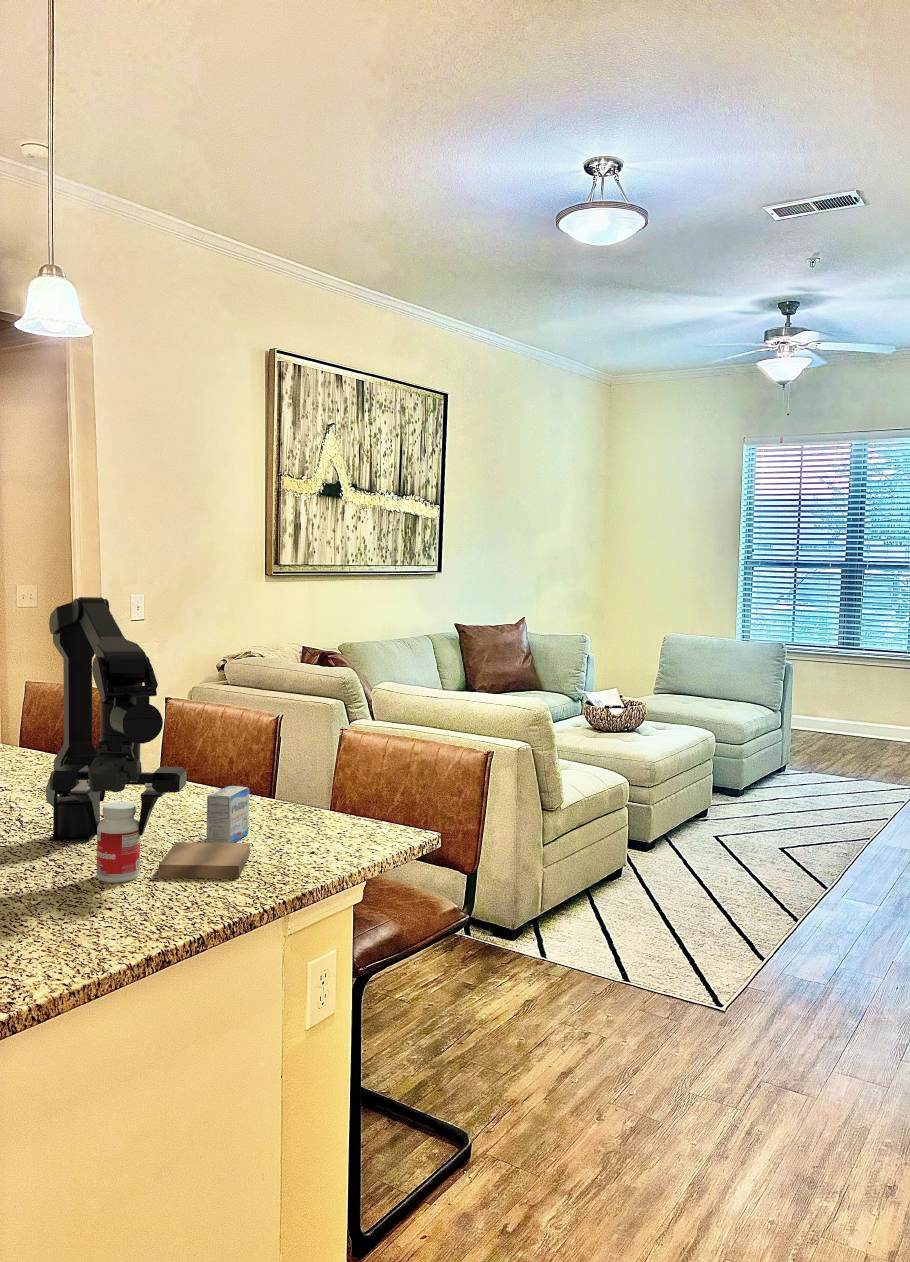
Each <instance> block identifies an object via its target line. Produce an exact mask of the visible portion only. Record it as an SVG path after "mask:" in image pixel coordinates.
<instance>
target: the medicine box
mask: <svg viewBox="0 0 910 1262" xmlns="http://www.w3.org/2000/svg"><path fill="white" fill-rule="evenodd" d="M249 809H250V788H249V787H247V786H239V785H227V786H225V787H223V788H221V789H219V790H217V791H215V792H212V793H211V794H208V795H207V796H206V843H238V841H240V840H241V839H243V838H245V837H246V836H247V835H249V817H250V816H249V815H250V813H249V812H250V811H249Z"/></svg>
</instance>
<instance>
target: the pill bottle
mask: <svg viewBox="0 0 910 1262" xmlns="http://www.w3.org/2000/svg"><path fill="white" fill-rule="evenodd" d="M136 807H137V806H136V803H134V802H129V801H113V802H112V801H111V802H107V803H105V804H103V806H102V815H103V817H104V818H102V819H100V822H99V824H98V827H97V835H96V839H97V840H96V877H97V879H98V880H99V881H101V882H104V883H108V884H109V883H110V884H116V883H117V884H118V883H125V882H130V881H132V880H135V879H137V878H138V877H139V875H140V866H141V836H139V820H140V819H137V817H135V815H136V813H137V809H136Z"/></svg>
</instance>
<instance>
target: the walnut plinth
mask: <svg viewBox="0 0 910 1262" xmlns="http://www.w3.org/2000/svg"><path fill="white" fill-rule="evenodd" d="M250 848H251V843H248V842H247V843H246V842H236V843H207V842H198V841H197V842H196V841H195V842H193V841H192V842H191V841H189V842H187V841H185V842H183V841H182V842H181V841H176V842H175V843H173V845H172V846H171V848H170V849H169V851H168V852H167V853H166V855H165V856H164V857H163V859H162V860H161V861H160V862H159V864H158V878H159V879H161V878H162V879H167V878H169V879H170V878H171V879H228V880H229V879H230V880H231V879H232V880H233V879H239V878H240V877H241V875H242V872H243V870H244V868H245V865H246V863H247V861H248V859H249V857H250V852H251V851H250V850H251V849H250Z"/></svg>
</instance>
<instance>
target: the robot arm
mask: <svg viewBox="0 0 910 1262" xmlns="http://www.w3.org/2000/svg"><path fill="white" fill-rule="evenodd" d="M48 623H49V631H50V634H51V635H52V643H53V645H54V646H55V648H56V650H57V651H58V653H59V654H60V656H61V657H62V659H63V660H62V661H63V745H62V746H61V747H60V749H59V751H58V753H57V755H56V756H55V757H54V759H53V770H51V772H50V776H49V777H48V781H47V784H46V787H45V800H46V802H47V804H49V805H50V806H51V807H53V812H52V813H53V815H52V816H53V817H52V818H53V820H52V823H53V824H52V825H53V827H52V830H53V831H52V835H51V836H50V837H49V841H50V842H89V841H91V840H92V839H93V838H94V836H97V827H98V824H99V822H100V821H101V803H100V802H104V801H105V797H106V792H112V793H120V792H122V791H124V790H125V788H126V786H128V785H130V786H132V785H133V786H135V785H136V786H144V789H145V790H144V791H143V792H142V793H141V794H140V800H141V803H140V814H139V819H138V820H139V836H140V837H142V836H143V835H144V833H145V830H146V827H147V825H148V822H149V820H150V817H151V814H152V812H153V809H154V807H155V805H156V803H157V801H158V799H159V798H162V797H163V796H164V795H165V794H166V793H170V794H171V793H175V794H176V793H180V792H181V791H182V790H183V788H184V787H185V786H186V785H187V771H186V769H185V768H184V767H183V766H160V767H158V768H157V769H156V770H155V771H154V772H149V771H148V772H145V771H144V772H143V771H142V762H141V744H147V743H149V742H151V741H154V740H155V739H156V738H157V737H158V736H159V734H160V733H161V731H162V728H163V726H164V725H163V724H164V721H163V720H164V719H163V716H162V714H161V712H160V710H159V709H158V708H157V707H156V706H155V705H153V704H151V703H150V697H156V696H157V694H158V693H157V689H158V687H159V684H158V680H157V677H156V674H155V671H154V668H153V665H152V663H151V660H150V658H149V656H147V654H146V652H145V651H144V649H143V648H142V647H141V646H140V645H139V644H138V643H136V642H134V641H131V640H129V639H126V638H125V635H124V634H123V633H122V630H121V629H120V627H119V625H118V623H117V621H116V620H115V617H114V616H113V614H112V612H111V611H110V601H109V600H108V599H107V598H104V597H99V596H98V597H97V596H96V597H95V596H94V597H93V596H92V597H91V596H80V597H78V598H74V599H73V600H72V601H71V602H68V603H65V604H62V605H59V606H56V607H55V608H54V609H53V611H52V612H51V613H50V615H49V621H48ZM94 656H95V657H94ZM93 680H94V683H95V686H96V688H97V691H98V695H99V697H100V699H101V700H100V728H99V729H100V733H99V734H100V735H99V736H100V737H99V738H100V739H99V741H98V744H97V745H98V746H97V748H96V747H95V745H94V741H93V736H94V735H93V728H94V727H93ZM143 684H144V685H143Z"/></svg>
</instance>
